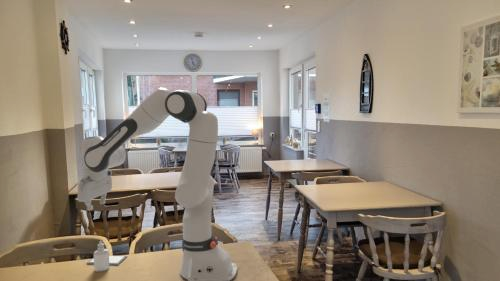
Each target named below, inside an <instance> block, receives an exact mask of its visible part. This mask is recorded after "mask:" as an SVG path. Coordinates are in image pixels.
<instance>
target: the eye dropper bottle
mask: <svg viewBox="0 0 500 281" xmlns="http://www.w3.org/2000/svg"><path fill="white" fill-rule="evenodd" d="M109 256H110V252H109V249H107V248H105V243H103V242H102V240H99V243H98V244H97V250H95V251H94V252H93V258H94V265H93V268H94V272H96V273H99V272H105V271H108V270H110V266H111V265H109Z"/></svg>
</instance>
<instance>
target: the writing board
mask: <svg viewBox="0 0 500 281" xmlns="http://www.w3.org/2000/svg"><path fill="white" fill-rule="evenodd" d="M124 256H125V257H124V258H123V259H122V260H120V261H119V262H118V263H109V266H120V264H121V263H123V262H124V261H125V260H126V258H128V256H127V255H124ZM93 259H94V257H93V258H91V259H90V260H88V261H87V262H86V265H92V264H94V263H93V262H90V261H91V260H93Z"/></svg>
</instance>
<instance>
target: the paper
mask: <svg viewBox="0 0 500 281" xmlns="http://www.w3.org/2000/svg"><path fill="white" fill-rule="evenodd" d="M125 256H126V255H109V263H118V262H119V261H120V260H122V259H123V258H124V257H125ZM92 259H93V258H92ZM90 260H91V259H90ZM90 260H89V261H90ZM90 262H93V263H94V259H93V260H91V261H90Z"/></svg>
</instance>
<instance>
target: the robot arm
mask: <svg viewBox="0 0 500 281" xmlns="http://www.w3.org/2000/svg"><path fill="white" fill-rule="evenodd" d="M207 109H208V103H207V100H206V99H205V98H204V96H202V95H201V94H199V93H197V92H194V91H192V90H184V89H176V90H173V91H171V90H170V89H168V88H165V87H160V88H157V89H156V90H154V91H153V92H151V93H150V94H149V95H148V96H147V97H146V98H145V99H144V100H143V101H142V102H141V103H140V104H139V105H138V106H137V107H136V109H134V110H133V111H132V112H131V113H130V114H129V115H128V116H127V117H126V118H125V119H124V120H123V121H122V122H121V123H120V124H118V125H117V126H116V127H115V128H114V129H113V130H112V131H111V132H109V133H108V135H106V137H103V136H101V135H94V136H89V137H85V138H84V139H82V143H81V149H80V150H81V152H80V153H81V160H82V178H81V179H80V182H79V183H78V185H77V201H78V202H80V203H84V204H85V207H86V211H92V210H94V205H92V200H94V199H96V198H98V197H100V199H99V204H100V205H105V204H106V198H107V195H108V194H107V193H110V192H111V190H112V188H113V178H112V174H113V173H112V172H113V171H112V170H110V169H112V168H115V167H119V166H121V165H123V164H124V163H125V161H126V159H127V150H126V149H125V147H124V146H123V145H124V144H125V143H126V142H128V141H129V140H131V139H133V138H135V137H139V136H141V135H142V136H143V135H146V134H149V133H151V132H153V131H155V130H157V128H158V127H160V126H161V125H162V124H163V123H164V122H165V121H166V119H168V118H169V117H172V118H174V119H176V120H179V121H181V122H182V123H184V124H188V127H189V133H188V139H187V146H186V151H185V152H186V154H185V159H184V163H183V166H182V170H181V172H180V177H179V180H178V184H177V186H176V189H175V191H174V198H175V201H176V203H177V204H178V205H179V206H180V207H182V208H184V213H183V216H182V235H183V236H182V240H181V249H182V252H183V253H182V261H181V269H180V272H179V275H180V276H181V277H182V278H183V279H186V280H187V281H232V279H234V278H235V277H236V275H237V272H238V266H237V264H236V263H235V262H232V259H231V256H230V254H229V252H228V251H226V250H224V249H223V248H221V246H219V245H218V244H217V240H218V238H217V236H213V234H212V209H213V200H214V188H215V181H214V178H213V176H212V175H211V174H212V169H213V166H214V164H215V160H216V159H215V157H216V151H217V143H218V137H219V124H218V123H219V122H218V117H217V116H216V114H214V113H212V112H210V111H208V110H207Z"/></svg>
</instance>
